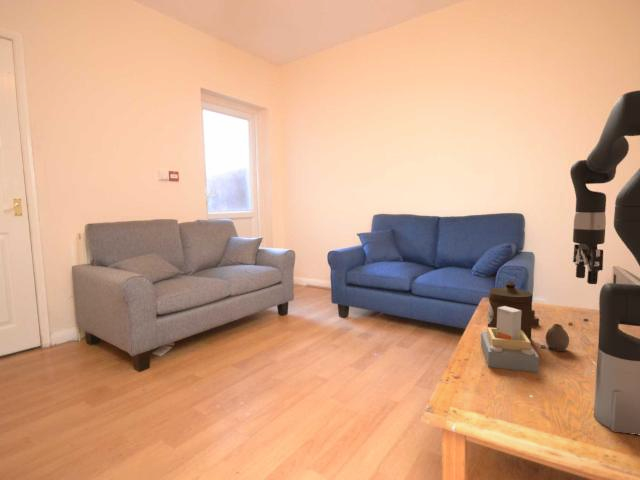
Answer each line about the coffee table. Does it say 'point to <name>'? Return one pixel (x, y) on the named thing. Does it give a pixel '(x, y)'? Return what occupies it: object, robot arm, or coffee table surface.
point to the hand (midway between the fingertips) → (585, 280)
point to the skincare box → (508, 323)
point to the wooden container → (511, 305)
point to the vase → (557, 338)
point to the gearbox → (509, 352)
